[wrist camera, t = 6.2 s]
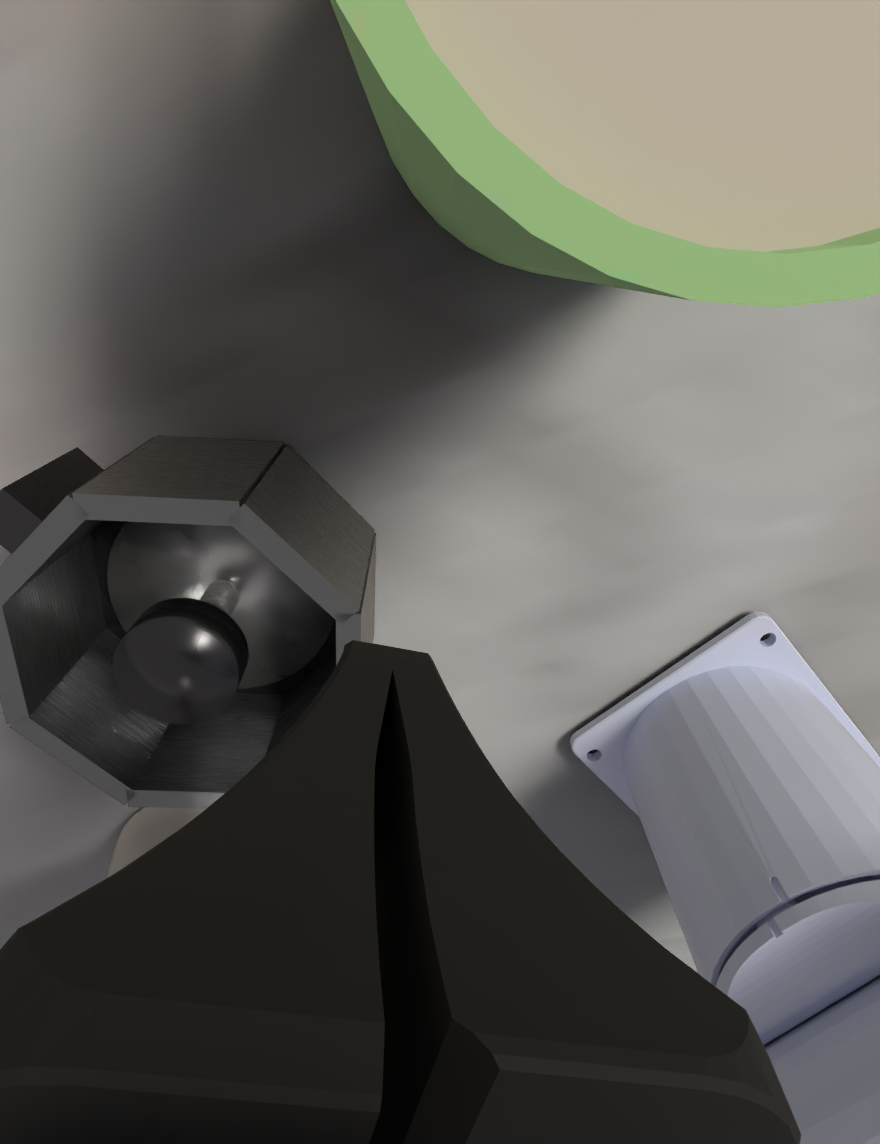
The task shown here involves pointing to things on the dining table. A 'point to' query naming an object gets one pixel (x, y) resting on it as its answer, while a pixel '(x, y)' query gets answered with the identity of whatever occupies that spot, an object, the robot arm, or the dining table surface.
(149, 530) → the plunger
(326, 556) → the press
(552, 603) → the dining table surface
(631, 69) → the mug
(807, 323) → the dining table surface
